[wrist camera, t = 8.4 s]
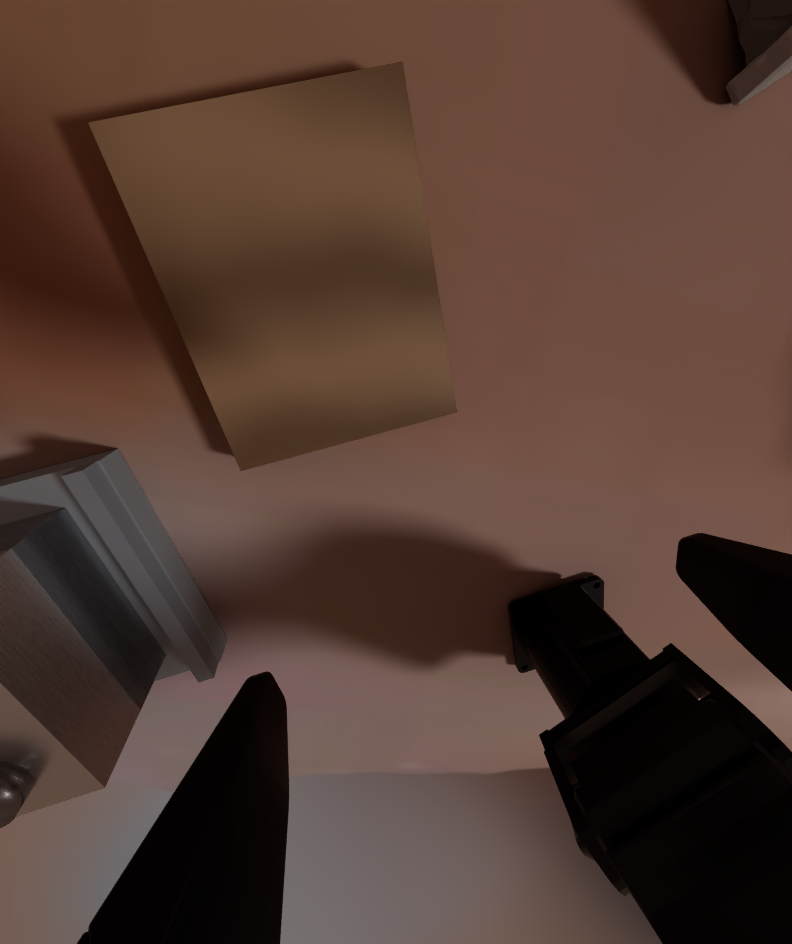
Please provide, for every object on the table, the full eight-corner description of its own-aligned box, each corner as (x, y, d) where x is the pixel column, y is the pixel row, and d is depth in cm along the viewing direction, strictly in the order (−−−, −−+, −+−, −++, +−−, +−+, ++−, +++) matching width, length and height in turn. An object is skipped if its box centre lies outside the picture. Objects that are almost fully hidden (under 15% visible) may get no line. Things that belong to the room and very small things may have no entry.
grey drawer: (65, 507, 16) (-102, 633, 9) (166, 654, 19) (92, 813, 13) (-75, 544, 15) (-347, 702, 9) (56, 687, 19) (-73, 868, 13)
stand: (447, 405, 18) (457, 412, 17) (247, 459, 18) (240, 471, 16) (394, 87, 14) (402, 61, 12) (113, 143, 13) (88, 122, 11)
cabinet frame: (227, 638, 21) (215, 676, 19) (47, 693, 21) (14, 739, 18) (117, 448, 16) (85, 469, 14) (-124, 511, 16) (-199, 544, 13)
